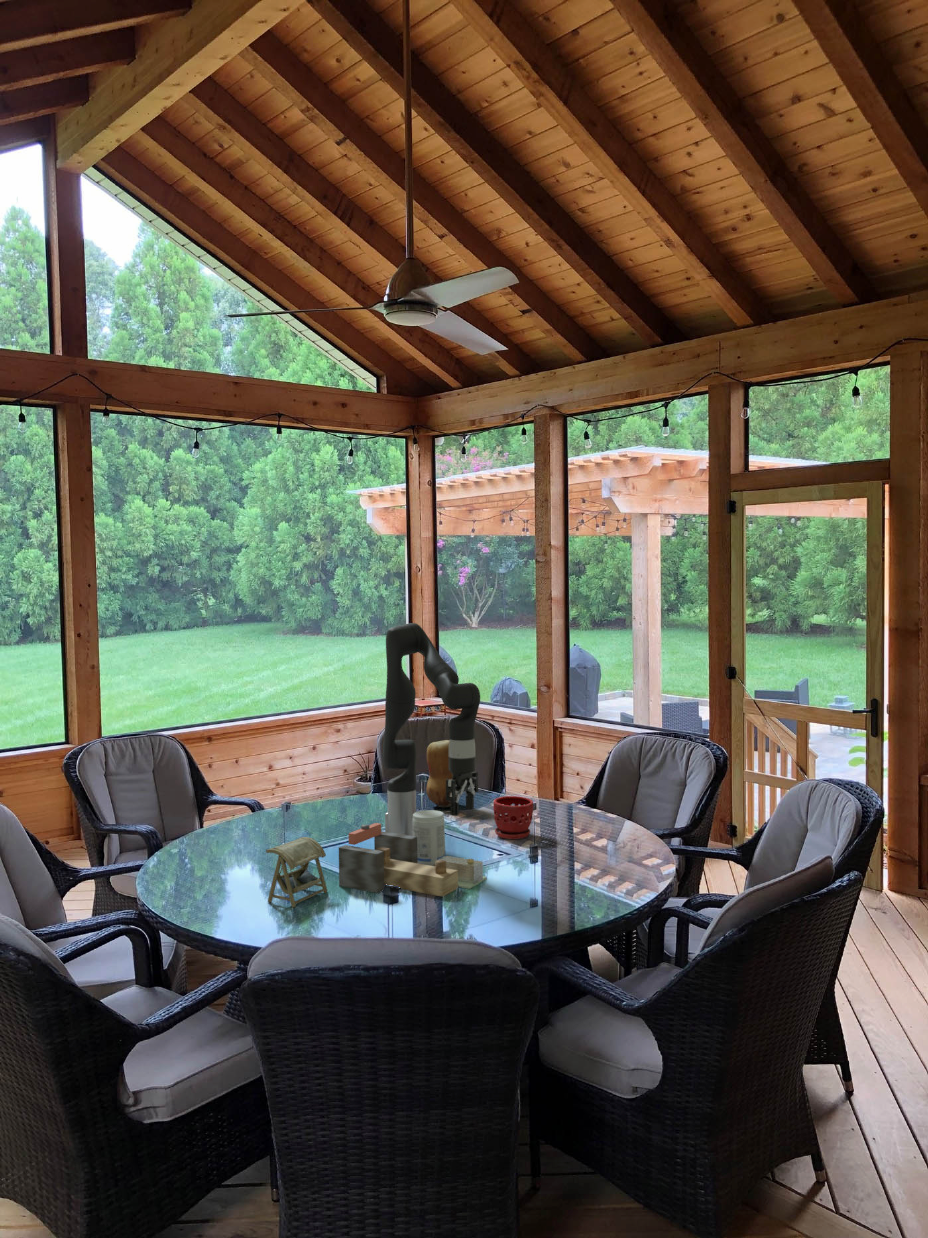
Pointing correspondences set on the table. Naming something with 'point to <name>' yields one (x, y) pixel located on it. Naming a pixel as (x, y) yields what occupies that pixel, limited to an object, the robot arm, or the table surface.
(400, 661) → the robot arm
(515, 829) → the plant pot
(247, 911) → the table surface
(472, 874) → the block with brass knob
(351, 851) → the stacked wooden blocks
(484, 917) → the table surface
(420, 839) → the supplement tub
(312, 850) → the swing bench
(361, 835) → the latch bar
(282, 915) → the table surface
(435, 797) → the butternut squash
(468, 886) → the mat
